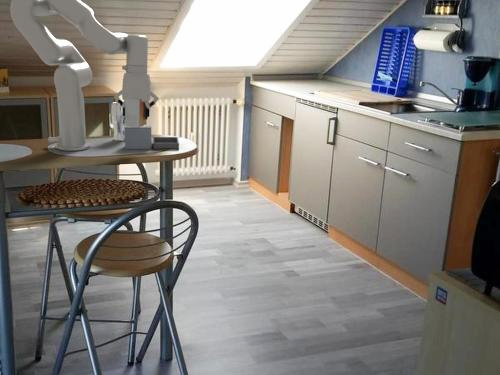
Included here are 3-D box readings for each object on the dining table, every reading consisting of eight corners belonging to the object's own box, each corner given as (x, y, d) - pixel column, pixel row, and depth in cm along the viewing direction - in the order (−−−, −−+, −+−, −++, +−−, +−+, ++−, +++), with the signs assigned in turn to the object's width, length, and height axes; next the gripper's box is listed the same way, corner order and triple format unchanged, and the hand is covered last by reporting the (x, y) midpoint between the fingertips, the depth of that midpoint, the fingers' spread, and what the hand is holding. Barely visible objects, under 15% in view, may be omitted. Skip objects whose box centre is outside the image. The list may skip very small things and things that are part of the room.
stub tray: (152, 149, 231) (152, 143, 230) (152, 143, 242) (152, 137, 242) (178, 149, 232) (178, 143, 232) (177, 143, 244) (177, 137, 243)
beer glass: (130, 138, 250) (129, 102, 246) (128, 141, 244) (127, 104, 240) (114, 137, 250) (112, 101, 246) (110, 141, 243) (109, 104, 239)
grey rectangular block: (125, 148, 231) (124, 127, 228) (125, 146, 235) (125, 125, 233) (151, 148, 232) (151, 127, 230) (151, 146, 237) (151, 125, 235)
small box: (139, 128, 219) (139, 99, 216) (124, 126, 220) (124, 97, 217) (147, 124, 227) (147, 96, 224) (133, 123, 227) (133, 95, 224)
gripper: (111, 69, 212) (111, 119, 217) (161, 72, 215) (159, 121, 220) (112, 67, 220) (112, 115, 225) (161, 70, 222) (159, 117, 227)
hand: (136, 118), depth 222 cm, fingers closed on small box, 7 cm apart
